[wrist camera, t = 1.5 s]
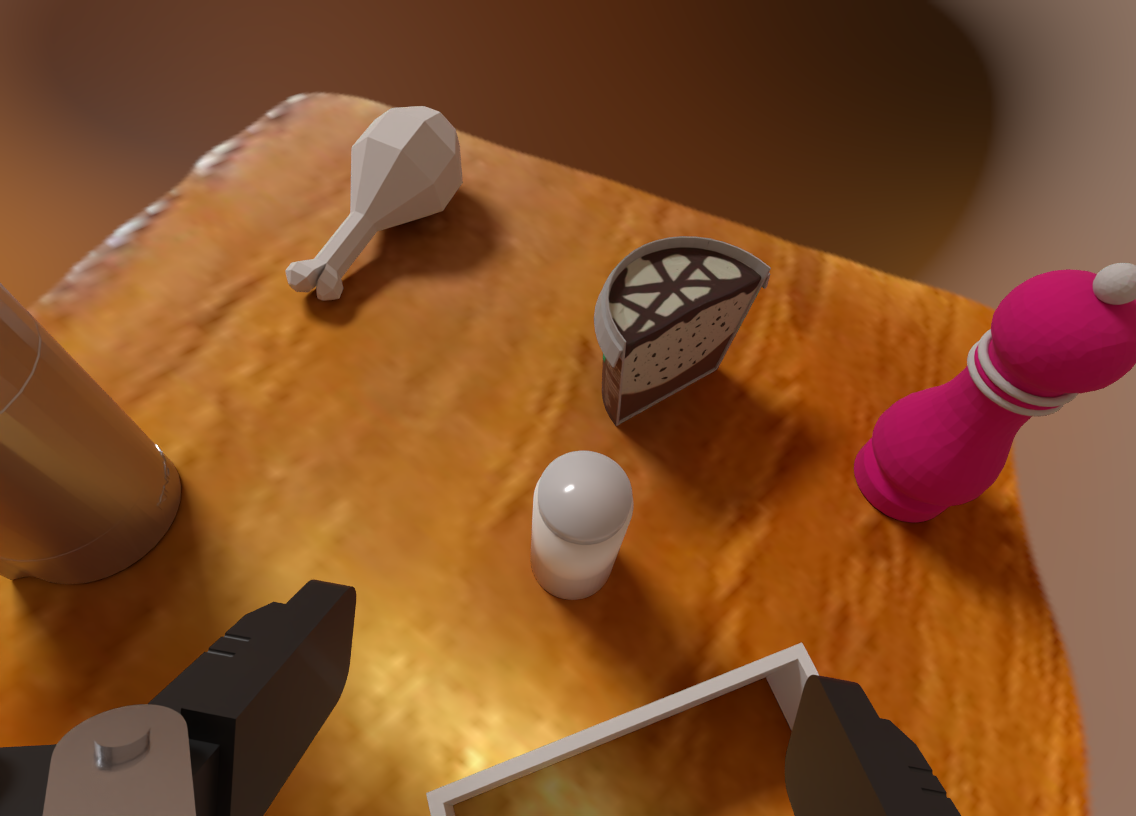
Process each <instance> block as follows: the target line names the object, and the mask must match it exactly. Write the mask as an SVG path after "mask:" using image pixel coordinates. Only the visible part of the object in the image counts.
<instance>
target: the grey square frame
mask: <svg viewBox="0 0 1136 816" xmlns="http://www.w3.org/2000/svg"><path fill="white" fill-rule="evenodd" d="M810 675H818V676H819V674H818V672H817V670H816V668H815V666H814V664H813V663H812V661H811V659H810V657H809V655H808V653H807V651H806V649H805V647H804V646H803V644H802V643H800V644H797V645H795V646H792V647H790V648H787V649H785V650H782V651H780V652H777V653H775V654H772V655H770V656H767V657H765V658H762V659H760V660H757V661H755V662H752V663H750V664H747V665H745V666H742V667H740V668H737V669H735V670H732V671H730V672H727V673H725V674H722V675H720V676H717V677H715V678H712V679H710V680H707V681H705V682H702V683H700V684H697V685H695V686H692V687H690V688H687V689H685V690H682V691H680V692H677V693H675V694H672V695H670V696H667V697H665V698H662V699H660V700H657V701H655V702H652V703H650V704H647V705H645V706H643V707H640V708H638V709H635V710H633V711H630V712H628V713H625V714H623V715H620V716H618V717H615V718H613V719H610V720H608V721H605V722H603V723H600V724H598V725H595V726H593V727H590V728H588V729H585V730H583V731H580V732H578V733H575V734H573V735H570V736H568V737H565V738H563V739H560V740H558V741H555V742H553V743H550V744H548V745H545V746H543V747H540V748H538V749H535V750H533V751H530V752H528V753H525V754H523V755H520V756H518V757H515V758H513V759H510V760H508V761H505V762H503V763H500V764H498V765H495V766H493V767H490V768H488V769H485V770H483V771H480V772H478V773H475V774H473V775H470V776H468V777H465V778H463V779H460V780H458V781H455V782H453V783H450V784H448V785H445V786H443V787H440V788H438V789H435V790H433V791H430V792H428V793H426V795H427V799H428V804H429V808H430V813H431V816H455V812H454V808H453V805H455V804H457V803H459V802H462V801H464V800H467V799H469V798H472V797H474V796H477V795H479V794H481V793H484V792H486V791H489V790H491V789H494V788H496V787H499V786H501V785H504V784H506V783H508V782H511V781H513V780H516V779H518V778H521V777H523V776H526V775H528V774H530V773H533V772H535V771H538V770H540V769H543V768H545V767H548V766H550V765H552V764H555V763H557V762H560V761H562V760H565V759H567V758H570V757H572V756H574V755H577V754H579V753H582V752H584V751H587V750H589V749H592V748H594V747H596V746H599V745H601V744H604V743H606V742H609V741H611V740H614V739H616V738H618V737H621V736H623V735H626V734H628V733H631V732H633V731H636V730H638V729H640V728H643V727H645V726H648V725H650V724H653V723H655V722H658V721H660V720H662V719H665V718H667V717H670V716H672V715H675V714H677V713H680V712H682V711H684V710H687V709H689V708H692V707H694V706H697V705H699V704H702V703H704V702H706V701H709V700H711V699H714V698H716V697H719V696H721V695H724V694H726V693H728V692H731V691H733V690H736V689H738V688H741V687H743V686H746V685H748V684H750V683H753V682H755V681H758V680H760V679H763V678H765V677H766V679H767V681H768V683H769V685H770V687H771V689H772V691H773V693H774V695H775V697H776V700H777V702H778V704H779V706H780V708H781V710H782V712H783V714H784V716H785V718H786V720H787V722H788V724H789V726H790V728H791V730H792V729H793V726H794V722H795V718H796V714H797V711H798V707H799V703H800V700H801V696H802V692H803V688H804V685H805V683H806V680H807V679H808V677H809V676H810Z"/></svg>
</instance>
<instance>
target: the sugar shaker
mask: <svg viewBox="0 0 1136 816" xmlns="http://www.w3.org/2000/svg"><path fill="white" fill-rule="evenodd" d="M632 512H633V497H632V488H631V484H630V481H629V479H628V477H627V475H626V473H625V472H624V471H623V469H622V468H621V467H620V466H619V465H618V464H617V463H616V462H615V461H613V460H612V459H610V458H609V457H607V456H605V455H602V454H600V453H596V452H591V451H574V452H570V453H567V454H564V455H562V456H560V457H558V458H557V459H555V460H554V461H553V462H552V463H550V464H549V465H548V467H547V468H546V469H545V471H544V472H543V474H542V476H541V478H540V479H539V481H538V483H537V485H536V488H535V491H534V499H533V519H532V539H531V568H532V571H533V574H534V576H535V578H536V580H537V581H538V583H539V584H540V585H541V586H542V587H543V588H544V589H545V590H546V591H547V592H549V593H550V594H552V595H554V596H556V597H558V598H562V599H567V600H578V599H583V598H586V597H589V596H591V595H593V594H594V593H596V592H597V591H599V590H600V589H601V588H602V587H603V586H604V584H605V583H606V581H607V580H608V578H609V576H610V573H611V570H612V568H613V565H614V562H615V560H616V557H617V554H618V552H619V549H620V546H621V544H622V541H623V538H624V536H625V533H626V530H627V528H628V525H629V522H630V520H631V517H632Z"/></svg>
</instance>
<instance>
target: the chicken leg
mask: <svg viewBox="0 0 1136 816" xmlns="http://www.w3.org/2000/svg"><path fill="white" fill-rule="evenodd" d="M462 183H463V181H462V169H461V157H460V145H459V141H458V137H457V133H456V129H455V128H454V127H453V126H452V125H451V124H450V123H449V122H448V120H447V119H446V118H445V117H444V116H443V115H442V114H441V113H440V112H438V111H435V110H432V109H430V108H427V107H425V106H418V107H417V106H416V107H402V108H391V109H389V110H388V111H386V112H385V113H384V114H382V115H381V116H379V117H378V118H377V119H375V120H374V121H373V122H372V124H371V125H370V126H369V127H368V128H367V130H366V131H365V132H364V133H363V134H362V136H361V137H360V138H359V139H358V140H357V142H356V143H355V144H354V145H353V146H352V156H351V212H350V214H349V216H348V217H347V218H346V219H345V221H344V222H343V223H342V224H341V226H340V227H339V228H338V229H337V231H336V232H335V233H334V234H333V236H332V237H331V238H330V239H329V241H328V242H327V243H326V244H325V246H324V247H323V248H322V250H321V251H320V252H319V253H318V255H317V256H316V257H315V258H314V259H311V260H304V261H298V262H293V263H291V264H290V265H289V267H288V268H287V269H286V275H287V280H288V284H289V285H290V286H291V288H293V289H294V290H295V291H296V292H309V291H311V290H312V289H313V288H314V287H315V286H316V290H317V298H318V299H320V300H322V301H325V300H335V299H339V298H340V295H341V293H342V290H343V285H342V280H341V278H342V276H343V275H344V274H345V272H346V271H347V270H348V269H349V267H350V266H351V265H352V263H353V262H354V261H355V259H356V258H357V257H358V256H359V254H360V253H361V252H362V250H363V249H364V248H365V246H366V245H367V244H368V243H369V241H370V240H371V239H372V237H373V236H374V235H375V233H376V232H377V231H380V230H384V229H387V228H390V227H394V226H397V225H401V224H404V223H407V222H411V221H414V220H417V219H421V218H424V217H427V216H430V215H433V214H435V213H438V212H441V211H443V210H444V208H445V207H446V206H447V204H448V203H449V201H450V200H451V198H452V197H453V196H454V194H455V193H456V191H457V190H458V189H459V187H460V186H461V184H462Z"/></svg>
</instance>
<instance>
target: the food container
mask: <svg viewBox="0 0 1136 816" xmlns="http://www.w3.org/2000/svg"><path fill="white" fill-rule="evenodd" d="M770 269H771V268H770V267H769V266H768V265H766V264H765V263H764V262H763V261H761V260H760V259H758V258H757V257H755V256H754V255H752V254H750V253H749V252H747V251H745V250H743V249H740V248H738V247H736V246H733V245H731V244H728V243H725V242H722V241H718V240H714V239H709V238H702V237H685V236H681V237H671V238H665V239H660V240H656V241H653V242H651V243H648V244H645V245H643V246H641V247H639V248H637V249H636V250H634V251H633V252H631V253H630V254H629V255H627V256H626V257H625V258H624V259H623V260H622V261H621V262H620V263H619V264H618V265H617V266H616V267H615V269H614V270H613V271H612V272H611V274H610V276H609V277H608V279H607V281H606V282H605V285H604V287H603V289H602V291H601V293H600V295H599V297H598V300H597V303H596V306H595V314H594V324H595V333H596V336H597V340H598V343H599V345H600V347H601V349H602V351H603V373H602V397H603V402H604V405H605V409H606V411H607V413H608V415H609V417H610V418H611V420H612V421H613V423H614V424H615V426H617V425H619V424H621V423H623V422H624V421H626V420H628V419H630V418H632V417H633V416H635V415H637V414H639V413H641V412H642V411H644V410H646V409H648V408H649V407H651V406H653V405H655V404H657V403H658V402H660V401H662V400H664V399H665V398H667V397H669V396H671V395H673V394H674V393H676V392H678V391H680V390H682V389H683V388H685V387H687V386H689V385H690V384H692V383H694V382H696V381H698V380H699V379H701V378H703V377H705V376H707V375H708V374H710V373H712V372H714V371H715V370H717V369H718V367H719V365H720V363H721V361H722V360H723V358H724V356H725V354H726V352H727V350H728V348H729V346H730V345H731V343H732V341H733V339H734V337H735V335H736V333H737V332H738V330H739V328H740V326H741V324H742V322H743V320H744V318H745V317H746V315H747V313H748V311H749V309H750V307H751V305H752V303H753V302H754V300H755V298H756V296H757V294H758V292H759V290H760V289H761V287H763V288H764V289H765V288H766V287H767V284H768V280H769V277H770V273H769V271H770Z"/></svg>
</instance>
